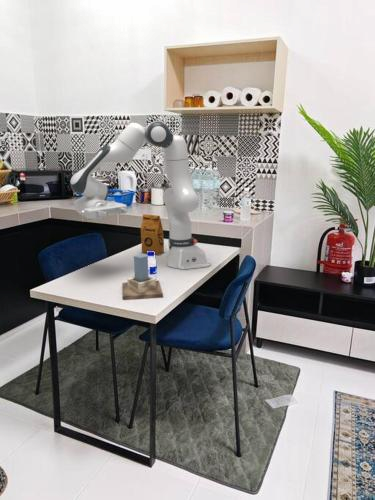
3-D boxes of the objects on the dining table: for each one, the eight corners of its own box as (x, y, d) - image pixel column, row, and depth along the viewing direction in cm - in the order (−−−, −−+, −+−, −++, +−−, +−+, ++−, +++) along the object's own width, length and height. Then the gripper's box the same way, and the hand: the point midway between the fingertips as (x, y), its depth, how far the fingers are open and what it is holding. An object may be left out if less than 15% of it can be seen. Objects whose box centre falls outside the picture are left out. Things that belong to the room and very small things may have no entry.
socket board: (158, 283, 174) (158, 272, 173) (162, 297, 159) (162, 284, 157) (122, 285, 171) (121, 274, 170) (122, 299, 156) (122, 286, 155)
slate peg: (142, 285, 167) (141, 254, 164) (148, 288, 165) (147, 256, 161) (135, 288, 165) (133, 256, 161) (141, 290, 162) (140, 258, 158)
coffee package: (157, 256, 216) (156, 217, 210) (139, 253, 222) (137, 215, 216) (167, 252, 224) (166, 214, 218) (149, 249, 230) (148, 212, 224)
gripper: (77, 205, 172) (94, 208, 163) (116, 200, 186) (134, 203, 177) (78, 219, 174) (95, 223, 164) (116, 213, 188) (134, 216, 178)
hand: (115, 213), depth 171 cm, fingers open, 8 cm apart
